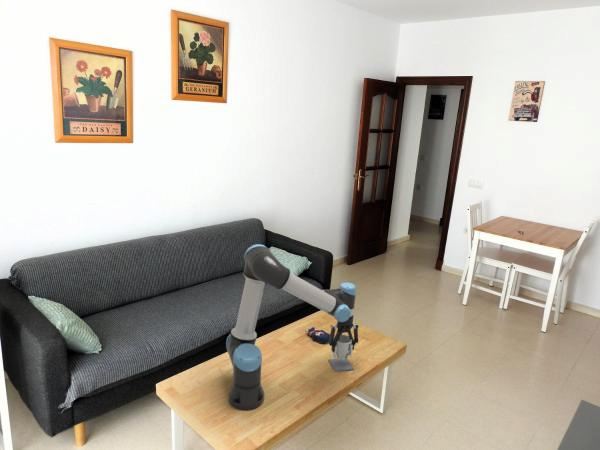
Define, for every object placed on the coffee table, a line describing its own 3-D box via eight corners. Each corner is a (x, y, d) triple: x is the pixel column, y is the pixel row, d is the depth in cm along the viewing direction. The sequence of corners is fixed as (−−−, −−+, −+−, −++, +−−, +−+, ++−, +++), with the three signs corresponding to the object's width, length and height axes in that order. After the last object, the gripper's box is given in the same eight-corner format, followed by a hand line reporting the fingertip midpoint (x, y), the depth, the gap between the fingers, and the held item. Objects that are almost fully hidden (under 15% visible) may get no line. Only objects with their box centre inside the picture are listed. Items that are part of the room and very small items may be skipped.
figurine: (312, 324, 250) (333, 333, 240) (311, 330, 251) (332, 340, 242) (302, 329, 243) (323, 339, 234) (301, 336, 244) (323, 346, 235)
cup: (349, 362, 212) (351, 344, 210) (332, 360, 214) (334, 341, 211) (350, 353, 220) (352, 336, 217) (334, 351, 221) (336, 333, 219)
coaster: (335, 372, 212) (335, 370, 212) (328, 360, 221) (328, 359, 221) (354, 370, 215) (354, 368, 215) (346, 358, 224) (346, 357, 224)
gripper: (328, 319, 205) (325, 362, 211) (368, 316, 210) (364, 358, 216) (323, 312, 211) (320, 354, 217) (362, 309, 217) (358, 350, 223)
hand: (342, 356), depth 217 cm, fingers closed on cup, 8 cm apart
